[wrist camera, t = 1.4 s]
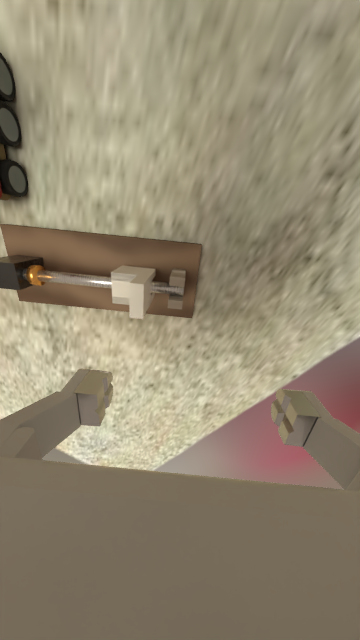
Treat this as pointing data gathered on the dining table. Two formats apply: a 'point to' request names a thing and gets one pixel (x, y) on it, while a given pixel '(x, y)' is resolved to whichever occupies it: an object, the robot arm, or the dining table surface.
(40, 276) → the rod
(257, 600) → the robot arm
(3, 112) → the toy fire truck
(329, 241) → the dining table surface
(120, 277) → the sleeve
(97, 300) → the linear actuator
